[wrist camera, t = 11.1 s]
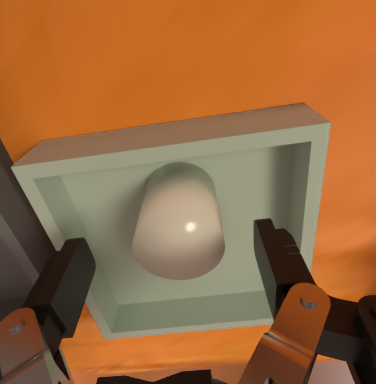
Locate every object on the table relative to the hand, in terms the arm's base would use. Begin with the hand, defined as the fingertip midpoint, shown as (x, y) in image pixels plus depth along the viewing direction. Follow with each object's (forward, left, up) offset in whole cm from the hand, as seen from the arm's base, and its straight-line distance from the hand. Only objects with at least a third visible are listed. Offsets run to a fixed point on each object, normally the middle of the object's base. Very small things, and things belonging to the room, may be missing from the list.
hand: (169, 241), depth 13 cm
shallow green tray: (+4, 0, -6) cm, 7 cm away
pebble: (+1, 0, -5) cm, 5 cm away
